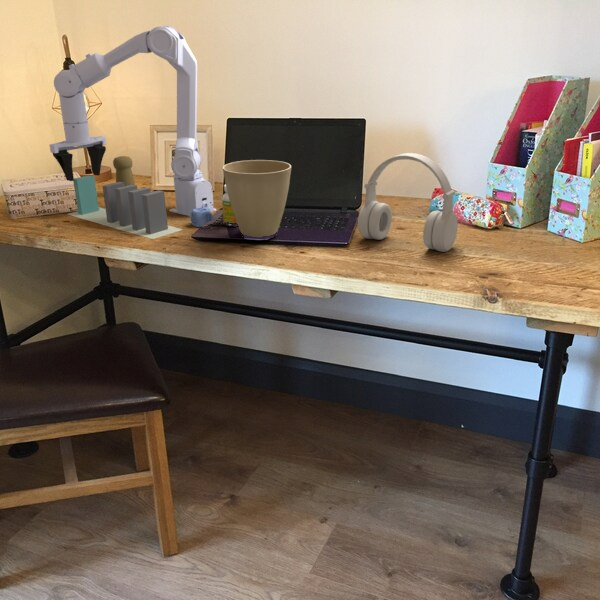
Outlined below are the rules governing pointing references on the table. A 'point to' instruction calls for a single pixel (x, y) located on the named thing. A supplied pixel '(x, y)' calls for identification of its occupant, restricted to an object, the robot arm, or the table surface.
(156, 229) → the domino
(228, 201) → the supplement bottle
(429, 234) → the headphones
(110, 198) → the domino
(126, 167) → the cork
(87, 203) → the domino
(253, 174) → the plant pot
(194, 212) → the decorative dice
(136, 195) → the domino
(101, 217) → the mat
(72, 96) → the robot arm
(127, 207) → the domino
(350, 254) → the table surface
